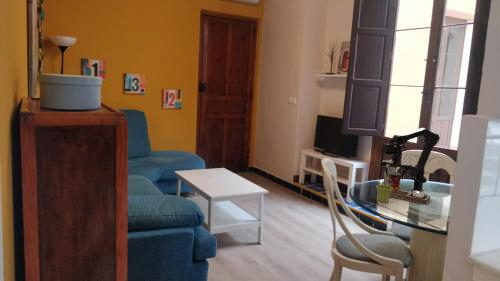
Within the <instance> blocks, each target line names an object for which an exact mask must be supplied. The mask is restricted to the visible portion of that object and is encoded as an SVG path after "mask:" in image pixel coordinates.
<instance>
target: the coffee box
mask: <svg viewBox="0 0 500 281" xmlns="http://www.w3.org/2000/svg"><path fill="white" fill-rule="evenodd" d="M390 160H391V159H385V161H389V162H390ZM388 166H389V165H388ZM390 172H397V168H394V167H389V173H390ZM389 173H388V177H387V175H386V171H385V170H384V174H383V183H384V185H386V186H388V180H389Z"/></svg>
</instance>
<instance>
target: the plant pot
mask: <svg viewBox="0 0 500 281" xmlns="http://www.w3.org/2000/svg"><path fill="white" fill-rule="evenodd" d="M375 187H376V192H377V193H376V194H377V196H376V198H377V201H378V202H380V203H389V200H390V198H391V197H390V194H391V191H392V189H393V188H392V187H390V186H388V185H385V184H377V185H376V186H375Z"/></svg>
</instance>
